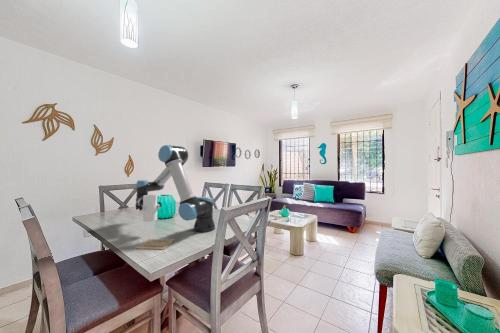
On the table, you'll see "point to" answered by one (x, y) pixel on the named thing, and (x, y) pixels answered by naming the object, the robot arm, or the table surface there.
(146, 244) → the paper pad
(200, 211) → the robot arm
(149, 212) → the cup
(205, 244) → the table surface
